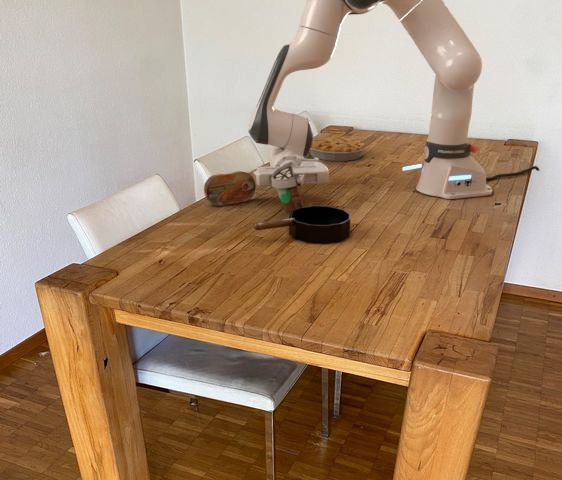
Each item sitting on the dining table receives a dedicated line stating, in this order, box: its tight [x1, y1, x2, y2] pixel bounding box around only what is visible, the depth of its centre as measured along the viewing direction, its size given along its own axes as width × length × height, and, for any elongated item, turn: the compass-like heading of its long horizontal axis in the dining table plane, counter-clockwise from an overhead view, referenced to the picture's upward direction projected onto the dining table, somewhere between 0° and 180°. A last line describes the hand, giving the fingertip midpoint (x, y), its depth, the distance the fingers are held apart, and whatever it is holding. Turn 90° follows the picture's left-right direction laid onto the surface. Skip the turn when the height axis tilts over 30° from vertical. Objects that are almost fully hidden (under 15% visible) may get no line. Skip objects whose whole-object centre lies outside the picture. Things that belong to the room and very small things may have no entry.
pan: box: [253, 205, 352, 245], centre depth 144 cm, size 25×15×5 cm, turn 112°
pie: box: [309, 136, 368, 162], centre depth 213 cm, size 22×22×5 cm
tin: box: [203, 170, 257, 207], centre depth 164 cm, size 15×3×8 cm, turn 117°
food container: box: [271, 163, 304, 215], centre depth 154 cm, size 12×6×10 cm, turn 4°
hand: (295, 183), depth 156 cm, fingers closed on food container
